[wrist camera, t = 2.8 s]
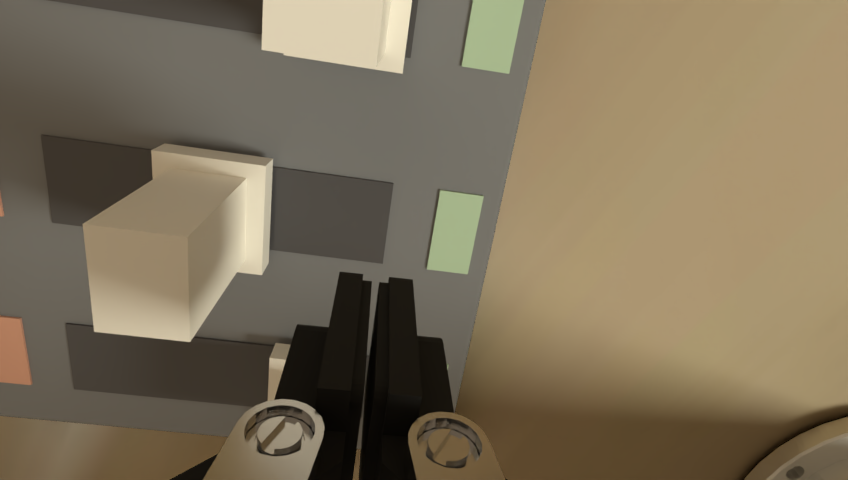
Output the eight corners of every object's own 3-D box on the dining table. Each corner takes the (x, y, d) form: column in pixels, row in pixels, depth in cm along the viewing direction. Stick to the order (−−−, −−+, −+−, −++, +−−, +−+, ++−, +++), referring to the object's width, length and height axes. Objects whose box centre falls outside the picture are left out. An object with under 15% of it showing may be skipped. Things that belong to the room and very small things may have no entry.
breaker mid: (268, 262, 19) (213, 360, 14) (168, 250, 19) (71, 345, 14) (273, 158, 18) (213, 220, 12) (164, 143, 18) (53, 200, 12)
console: (442, 433, 25) (444, 458, 24) (6, 390, 24) (-21, 415, 22) (554, -91, 17) (569, -101, 15) (-112, -217, 15) (-167, -242, 14)
